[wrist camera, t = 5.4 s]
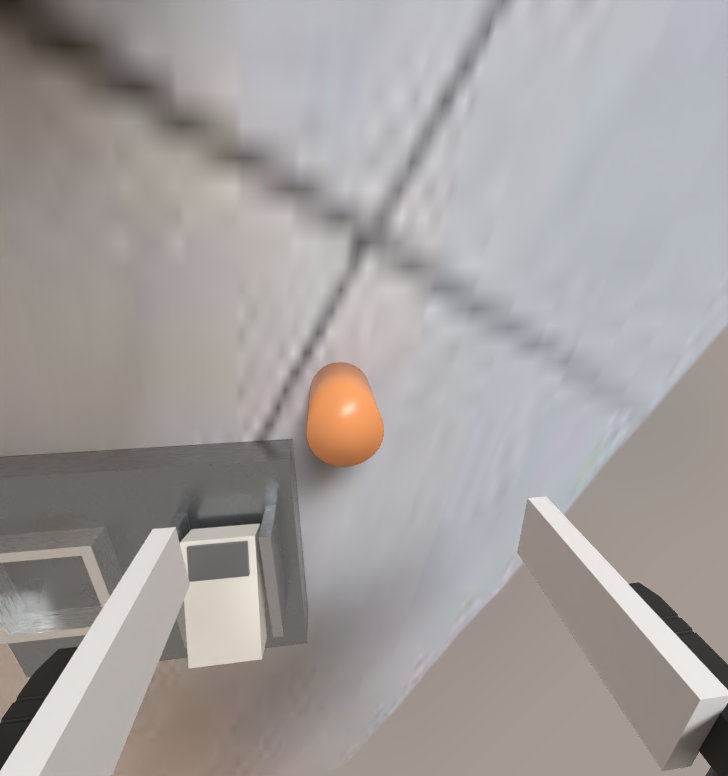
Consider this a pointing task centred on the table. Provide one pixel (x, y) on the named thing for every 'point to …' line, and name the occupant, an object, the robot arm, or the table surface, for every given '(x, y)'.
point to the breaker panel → (137, 534)
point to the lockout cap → (343, 416)
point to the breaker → (224, 595)
